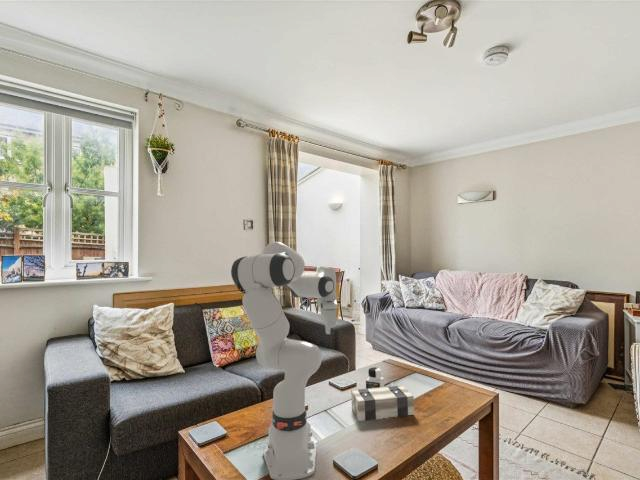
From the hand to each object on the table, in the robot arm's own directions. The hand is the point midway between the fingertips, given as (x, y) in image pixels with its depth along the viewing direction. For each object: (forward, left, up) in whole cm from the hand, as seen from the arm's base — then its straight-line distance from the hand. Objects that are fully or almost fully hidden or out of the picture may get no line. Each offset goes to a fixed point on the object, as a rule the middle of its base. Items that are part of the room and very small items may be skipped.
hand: (327, 333), depth 153 cm
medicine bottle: (+12, -25, -33) cm, 43 cm away
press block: (-7, -22, -33) cm, 40 cm away
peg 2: (-7, -29, -32) cm, 44 cm away
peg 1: (-7, -15, -32) cm, 36 cm away
